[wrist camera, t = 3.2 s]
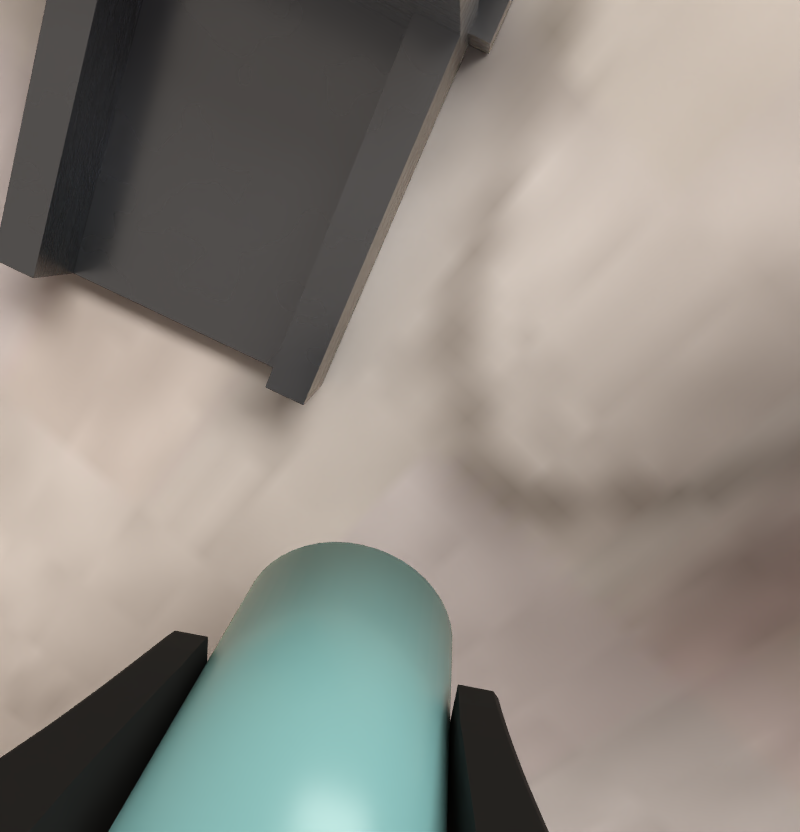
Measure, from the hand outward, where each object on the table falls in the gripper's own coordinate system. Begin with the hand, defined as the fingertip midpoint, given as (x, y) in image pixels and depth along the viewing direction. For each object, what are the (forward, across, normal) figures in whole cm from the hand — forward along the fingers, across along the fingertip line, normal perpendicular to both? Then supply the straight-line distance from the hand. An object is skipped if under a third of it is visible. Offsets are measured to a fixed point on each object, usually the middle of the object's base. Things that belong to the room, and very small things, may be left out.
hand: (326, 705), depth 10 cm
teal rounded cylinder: (+2, 0, 0) cm, 2 cm away
